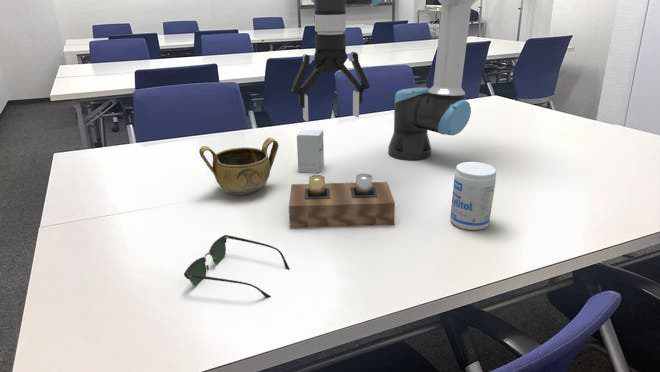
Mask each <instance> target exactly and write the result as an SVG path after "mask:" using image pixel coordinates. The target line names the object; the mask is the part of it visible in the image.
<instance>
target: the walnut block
mask: <svg viewBox="0 0 660 372" xmlns="http://www.w3.org/2000/svg"><path fill="white" fill-rule="evenodd" d="M289 193H290V194H289V200H288V215H289V216H288V218H289V228H290V229H299V228H301V229H302V228H303V229H305V228H331V227H332V228H334V227H337V228H338V227H366V226H367V227H368V226H371V227H372V226H373V227H374V226H394V225H395V213H396V212H395V211H396V202H395V200H394V196H393V195H392V194H393V193H392V191H391V189H390V186H389V183H388V181H372V195H357V196H356V182H334V183H333V182H332V183H330V182H329V183H326V182H325V196H320V197H310V192H309V183H299V184H298V183H295V184H292V183H291V185H290V192H289Z"/></svg>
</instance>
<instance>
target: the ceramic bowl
mask: <svg viewBox="0 0 660 372" xmlns="http://www.w3.org/2000/svg"><path fill="white" fill-rule="evenodd" d="M271 144H272V146H271ZM269 146H271V149H270V153H269V156H268V148H269ZM278 150H279V143H278V141H277V140H276V139H275V138H273V137H267V138H266V139H265V140H264V142H263V144H262V147H261V149H260V148H256V147H250V146H249V147H244V146H243V147H232V148H228V149H223V150H221V151H219V152H217V153H216V152H214V150H213V149H212V148H211V147H209V146H206V145H203V146H201V147H200V148H199V151H198V153H199V156H200V158H202V159H201V160H203V162H204V163H205V165H206V166H207V167H208V169H209V170H210V171H211V172H212V174H213V177H214V178H215V181H216V182H217V184H218V186H220V188H221V189H223V190H224V191H225V192H228V193H230V194H233V195H237V196H238V195H239V196H244V195H245V196H246V195H249V194H250V195H251V194H253V193H256V192H258V191H259V190H260V189H261V188H262V187H264V186H265V184H266V183H267V182H268V179H269V178H270V176H271V170H272V167H273V164H274V161H275V158H276V155H277V153H278ZM206 151H208V152H210V154H211V156H212V164H211V162H210V161H208V159H207V158H206V156H205V154H204V153H205V152H206Z"/></svg>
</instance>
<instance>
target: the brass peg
mask: <svg viewBox="0 0 660 372" xmlns="http://www.w3.org/2000/svg"><path fill="white" fill-rule="evenodd" d="M325 179H326V178H325V176H324V175H322V174H313V175H310V176H309V177H308V184H309V192H310V197H320V196H325V183H326V181H325Z"/></svg>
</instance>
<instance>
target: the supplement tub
mask: <svg viewBox="0 0 660 372" xmlns="http://www.w3.org/2000/svg"><path fill="white" fill-rule="evenodd" d="M496 181H497V169H496V167H494V165H491V164H488V163H484V162H478V161H465V162H461V163H458V164H457V165H456V168H455V172H454V178H453V186H452V196H451V205H450V206H451V207H450V216H449V217H450V218H449V219H450V222H451V223H452V224H453V225H454V226H456V227H457V228H460V229H463V230H468V231H481V230H483V229H485V228H487V227H488V226H489V225H490V222H491V221H490V220H491V213H492V207H493V201H494V193H495V188H496V186H495V185H496Z"/></svg>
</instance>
